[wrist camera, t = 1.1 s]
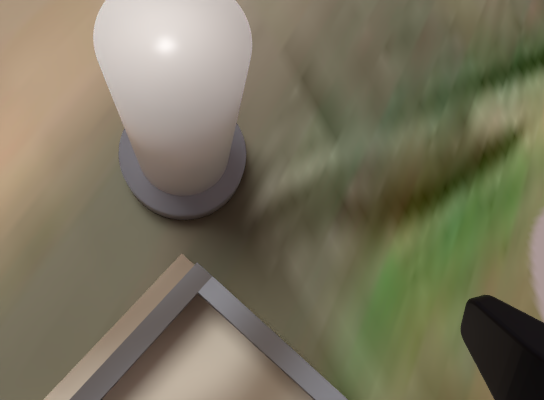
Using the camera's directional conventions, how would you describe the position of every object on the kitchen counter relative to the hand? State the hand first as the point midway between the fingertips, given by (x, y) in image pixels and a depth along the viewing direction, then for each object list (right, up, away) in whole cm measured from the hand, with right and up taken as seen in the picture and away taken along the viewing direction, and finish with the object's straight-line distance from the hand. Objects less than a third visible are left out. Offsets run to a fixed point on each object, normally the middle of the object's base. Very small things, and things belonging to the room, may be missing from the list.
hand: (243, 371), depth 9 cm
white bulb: (-4, +5, +14) cm, 16 cm away
